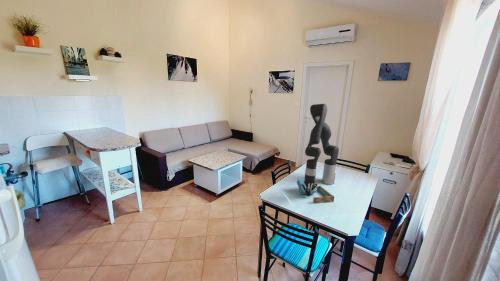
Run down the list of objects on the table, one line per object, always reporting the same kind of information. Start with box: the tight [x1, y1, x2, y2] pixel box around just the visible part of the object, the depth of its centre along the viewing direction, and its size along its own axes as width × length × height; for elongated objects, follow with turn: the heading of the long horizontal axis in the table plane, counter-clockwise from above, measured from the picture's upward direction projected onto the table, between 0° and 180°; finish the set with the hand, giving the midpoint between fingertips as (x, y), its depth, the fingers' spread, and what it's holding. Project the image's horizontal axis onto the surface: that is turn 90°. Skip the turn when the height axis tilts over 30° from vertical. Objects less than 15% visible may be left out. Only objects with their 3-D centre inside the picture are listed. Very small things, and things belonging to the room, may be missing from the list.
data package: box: [296, 177, 318, 195], centre depth 156 cm, size 12×4×12 cm
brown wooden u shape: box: [312, 185, 335, 204], centre depth 152 cm, size 16×18×4 cm
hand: (307, 195), depth 149 cm, fingers closed
